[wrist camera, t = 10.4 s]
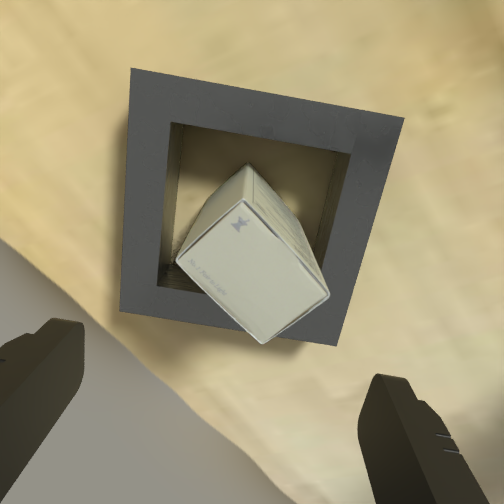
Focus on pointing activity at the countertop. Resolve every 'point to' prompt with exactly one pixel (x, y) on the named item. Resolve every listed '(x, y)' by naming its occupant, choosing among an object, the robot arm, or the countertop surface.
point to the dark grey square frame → (258, 125)
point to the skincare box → (253, 257)
